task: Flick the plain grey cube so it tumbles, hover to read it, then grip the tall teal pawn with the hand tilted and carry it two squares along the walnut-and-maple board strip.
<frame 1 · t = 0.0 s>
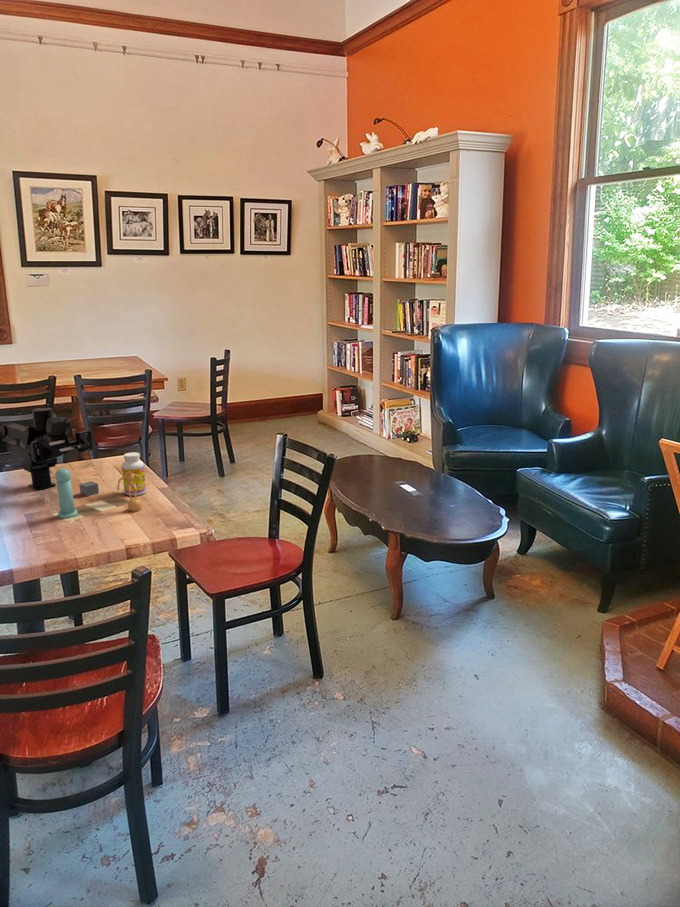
hand: (76, 450, 204), 17 cm above the table, tool horizontal, fingers open, 9 cm apart
supplement bottle: (135, 493, 216), on the table
pawn: (68, 515, 196), point 1 cm above the table, touching board
figurine: (134, 511, 201), on the table
board: (93, 510, 202), on the table
plain grey cube: (90, 496, 214), on the table
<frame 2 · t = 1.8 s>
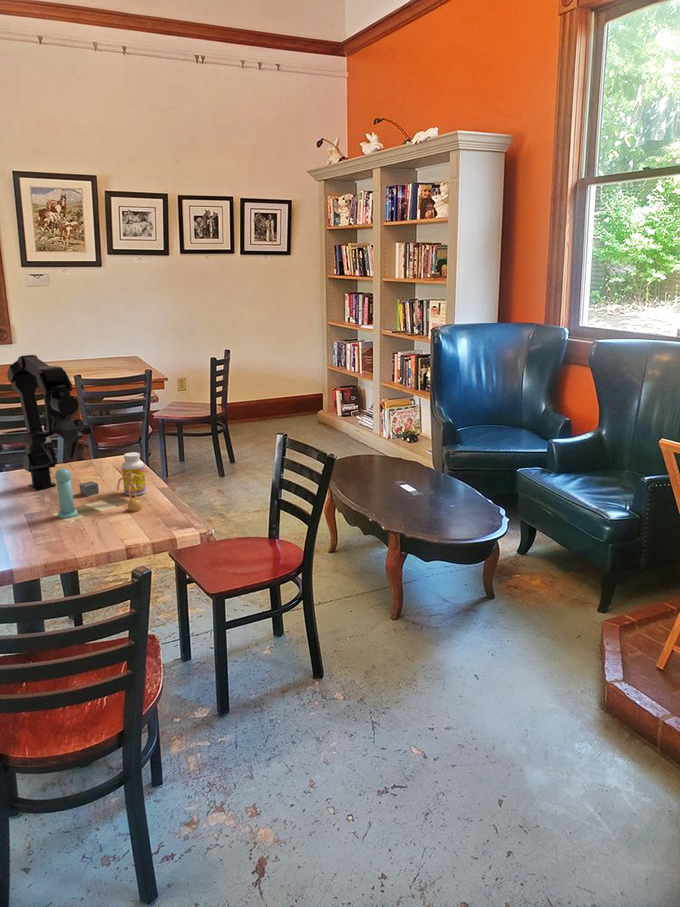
hand: (62, 461, 205), 13 cm above the table, tool pointing down, fingers open, 5 cm apart
nothing on the table moved.
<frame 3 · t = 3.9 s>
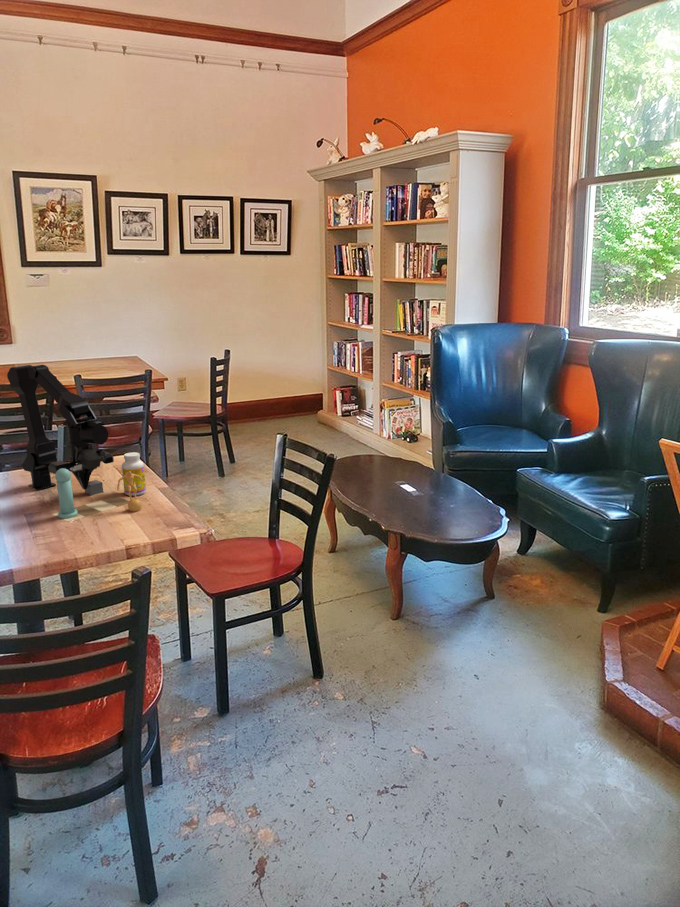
hand: (84, 489, 213), 3 cm above the table, tool pointing down, fingers closed
plain grey cube: (94, 494, 215), on the table, touching gripper
everything else where it was.
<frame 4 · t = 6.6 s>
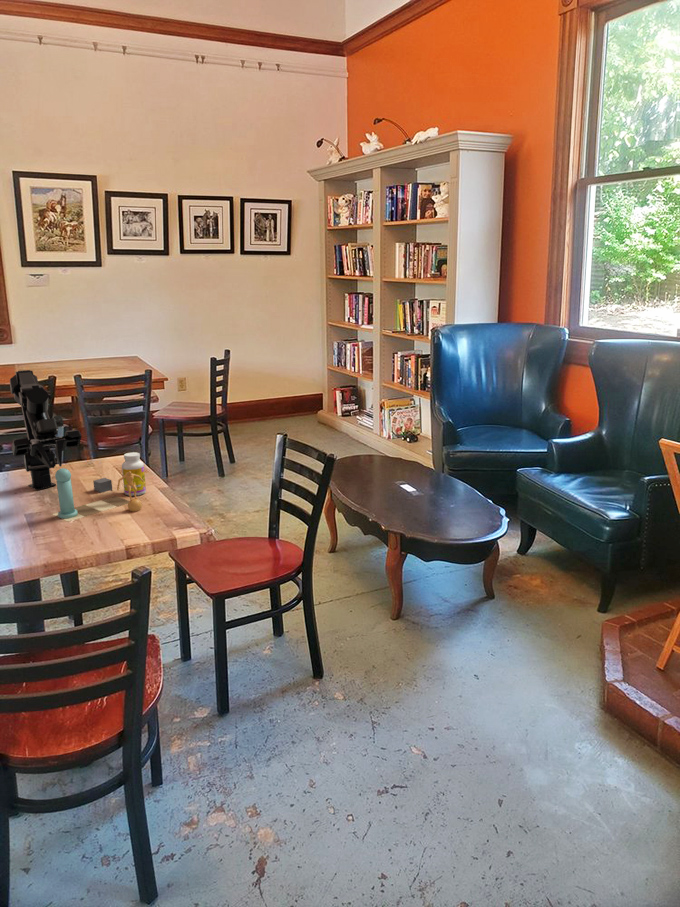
hand: (55, 466, 198), 13 cm above the table, tool tilted 45°, fingers open, 3 cm apart
plain grey cube: (103, 492, 218), on the table
everything else where it was.
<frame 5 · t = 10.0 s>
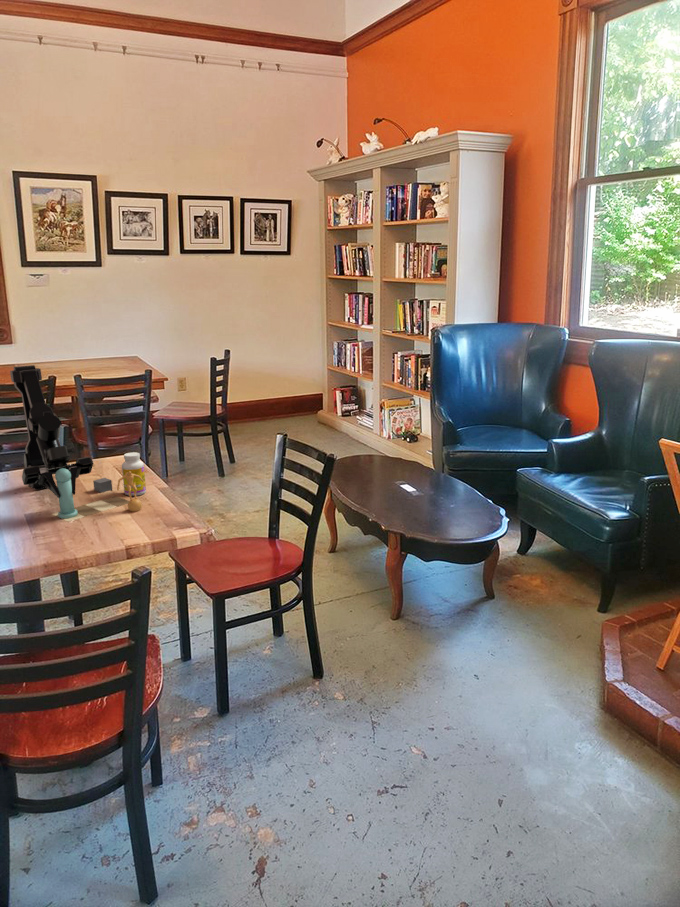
hand: (66, 495, 193), 7 cm above the table, tool tilted 45°, fingers closed on pawn, 4 cm apart
pawn: (68, 515, 196), point 1 cm above the table, touching board, gripper
everything else where it was.
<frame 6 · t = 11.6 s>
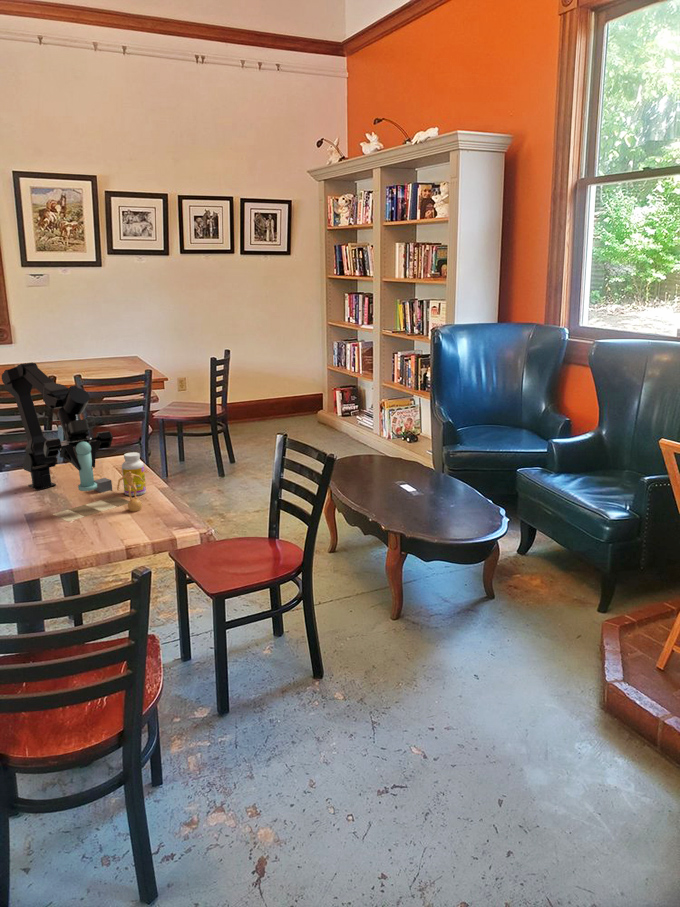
hand: (87, 468, 196), 13 cm above the table, tool tilted 45°, fingers closed on pawn, 4 cm apart
pawn: (87, 488, 199), point 7 cm above the table, touching gripper
everything else where it was.
when the fingers open (8 cm above the table, at t = 13.2 s): pawn stays where it is, resting on board.
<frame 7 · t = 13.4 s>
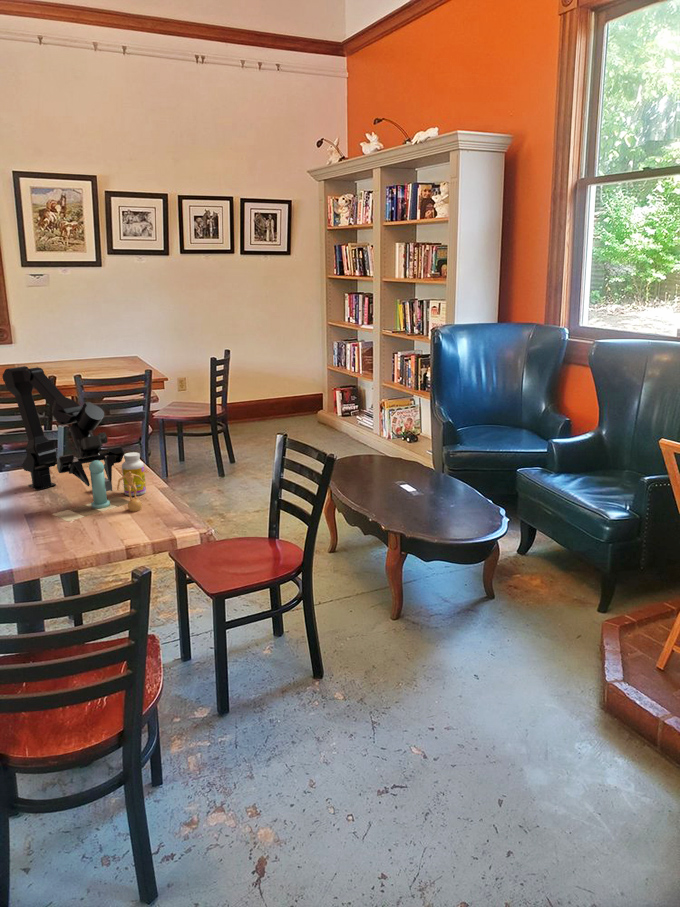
hand: (99, 483, 200), 8 cm above the table, tool tilted 45°, fingers open, 6 cm apart
pawn: (100, 505, 203), point 1 cm above the table, touching board
everything else where it was.
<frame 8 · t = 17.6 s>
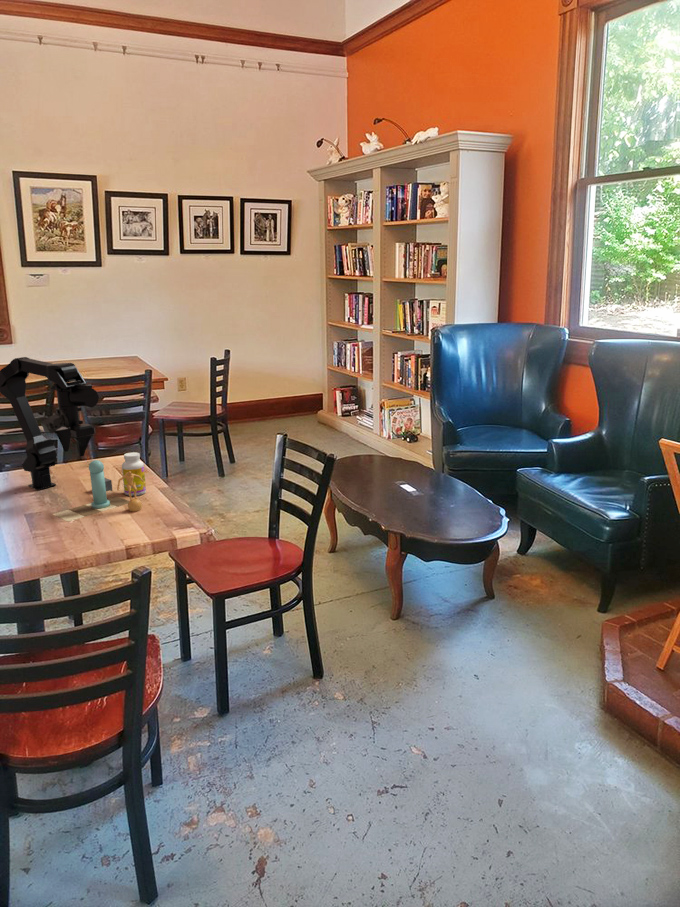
hand: (74, 453, 213), 13 cm above the table, tool pointing down, fingers open, 9 cm apart
nothing on the table moved.
at the end: pawn 0.1 cm from the target spot on the board, point 0.7 cm above the board's base; pawn tilted 0°; plain grey cube moved 4.7 cm from its start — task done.
